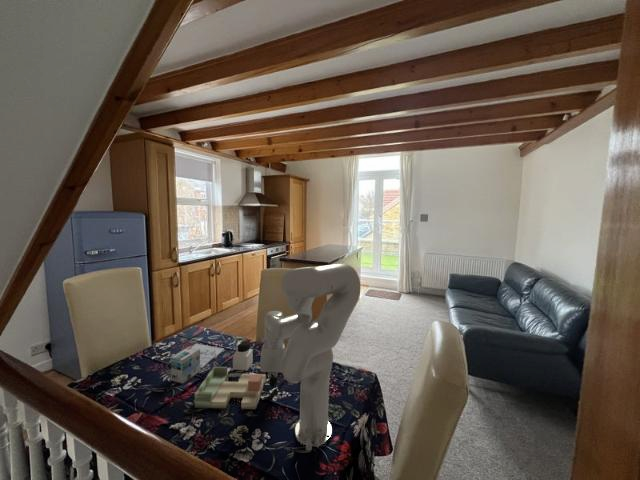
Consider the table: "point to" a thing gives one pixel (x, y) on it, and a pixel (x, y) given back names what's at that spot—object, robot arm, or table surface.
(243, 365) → the medicine bottle
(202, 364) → the white patterned board
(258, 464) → the table surface
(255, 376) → the block
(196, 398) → the trap deck
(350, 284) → the robot arm
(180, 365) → the light bulb box
